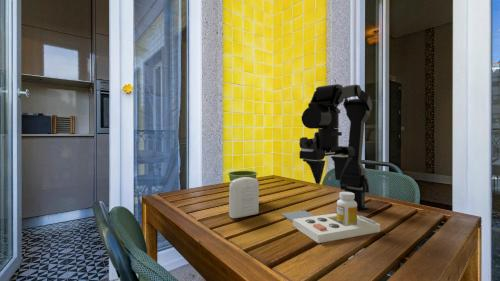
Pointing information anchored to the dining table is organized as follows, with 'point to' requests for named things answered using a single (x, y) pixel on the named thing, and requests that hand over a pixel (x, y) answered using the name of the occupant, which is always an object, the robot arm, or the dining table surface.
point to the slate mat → (297, 215)
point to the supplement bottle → (347, 209)
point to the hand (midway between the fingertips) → (328, 181)
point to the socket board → (333, 227)
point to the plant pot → (242, 174)
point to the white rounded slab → (243, 197)
